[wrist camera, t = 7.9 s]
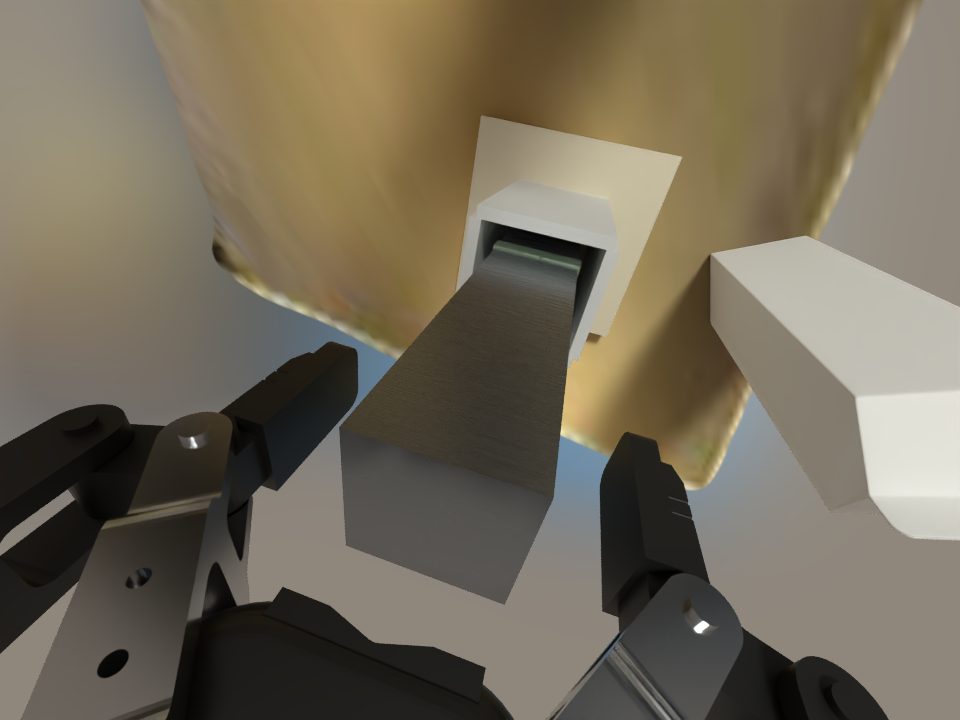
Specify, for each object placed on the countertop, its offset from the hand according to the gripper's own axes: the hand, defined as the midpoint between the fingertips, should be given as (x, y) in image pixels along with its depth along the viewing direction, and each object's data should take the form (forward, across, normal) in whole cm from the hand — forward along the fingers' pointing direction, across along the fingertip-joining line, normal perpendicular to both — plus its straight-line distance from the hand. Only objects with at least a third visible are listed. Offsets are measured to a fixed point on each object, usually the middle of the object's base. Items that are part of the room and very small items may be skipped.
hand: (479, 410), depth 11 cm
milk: (+24, -16, 0) cm, 29 cm away
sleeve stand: (+24, 0, 0) cm, 24 cm away
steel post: (+15, 0, 0) cm, 15 cm away
